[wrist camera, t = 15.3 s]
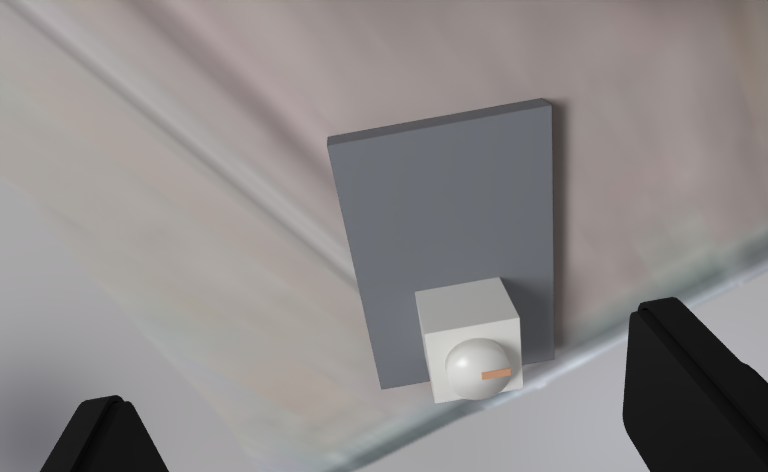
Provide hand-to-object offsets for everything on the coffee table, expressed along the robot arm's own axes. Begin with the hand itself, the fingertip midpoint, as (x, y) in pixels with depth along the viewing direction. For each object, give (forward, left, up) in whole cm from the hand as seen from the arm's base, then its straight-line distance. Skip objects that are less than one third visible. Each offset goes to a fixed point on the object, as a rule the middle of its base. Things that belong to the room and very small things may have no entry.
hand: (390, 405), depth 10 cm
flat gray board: (+5, -14, -28) cm, 32 cm away
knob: (+5, -19, -26) cm, 33 cm away
